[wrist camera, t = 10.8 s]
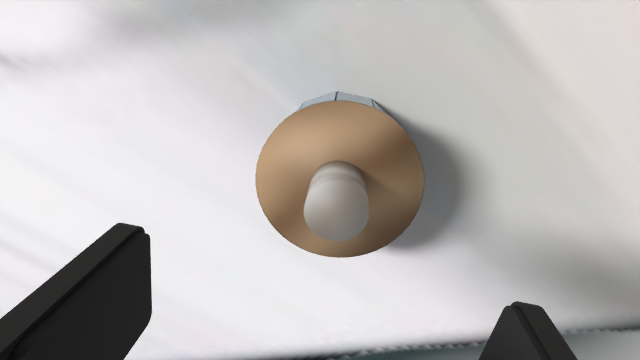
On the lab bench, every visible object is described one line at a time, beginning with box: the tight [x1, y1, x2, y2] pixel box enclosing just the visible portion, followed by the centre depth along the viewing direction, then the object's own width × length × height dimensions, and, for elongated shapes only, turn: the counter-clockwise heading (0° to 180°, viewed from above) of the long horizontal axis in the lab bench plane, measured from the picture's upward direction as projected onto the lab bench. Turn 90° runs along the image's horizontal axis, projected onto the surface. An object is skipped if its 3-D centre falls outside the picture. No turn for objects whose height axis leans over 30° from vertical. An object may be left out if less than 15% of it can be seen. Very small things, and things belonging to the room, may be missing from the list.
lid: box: [256, 100, 424, 257], centre depth 24 cm, size 12×12×5 cm
